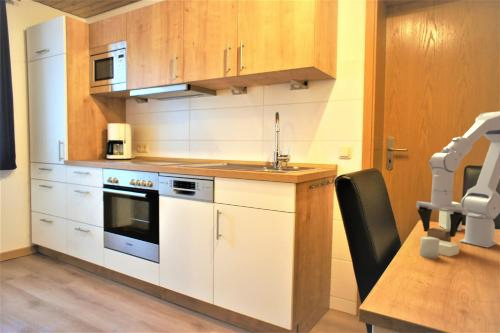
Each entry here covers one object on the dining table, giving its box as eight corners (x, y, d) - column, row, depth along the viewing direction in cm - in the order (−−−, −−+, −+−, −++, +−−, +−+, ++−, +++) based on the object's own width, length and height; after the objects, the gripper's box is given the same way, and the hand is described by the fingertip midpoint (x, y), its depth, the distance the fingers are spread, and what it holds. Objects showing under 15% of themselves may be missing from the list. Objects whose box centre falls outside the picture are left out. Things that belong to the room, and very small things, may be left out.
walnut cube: (433, 242, 106) (434, 227, 106) (450, 246, 102) (451, 230, 102) (426, 244, 103) (427, 229, 103) (443, 248, 99) (444, 232, 99)
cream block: (436, 249, 100) (437, 239, 99) (458, 254, 95) (459, 244, 95) (427, 251, 96) (428, 241, 96) (449, 257, 91) (450, 247, 91)
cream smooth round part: (424, 252, 94) (425, 235, 94) (441, 257, 90) (442, 239, 90) (416, 255, 91) (418, 237, 91) (434, 259, 88) (435, 241, 87)
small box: (461, 231, 126) (463, 204, 125) (445, 229, 127) (447, 203, 127) (453, 226, 134) (454, 201, 133) (438, 225, 135) (439, 200, 134)
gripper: (412, 188, 105) (409, 230, 106) (463, 194, 94) (460, 240, 94) (422, 188, 110) (419, 227, 110) (472, 193, 98) (469, 237, 99)
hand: (439, 233), depth 103 cm, fingers open, 7 cm apart
